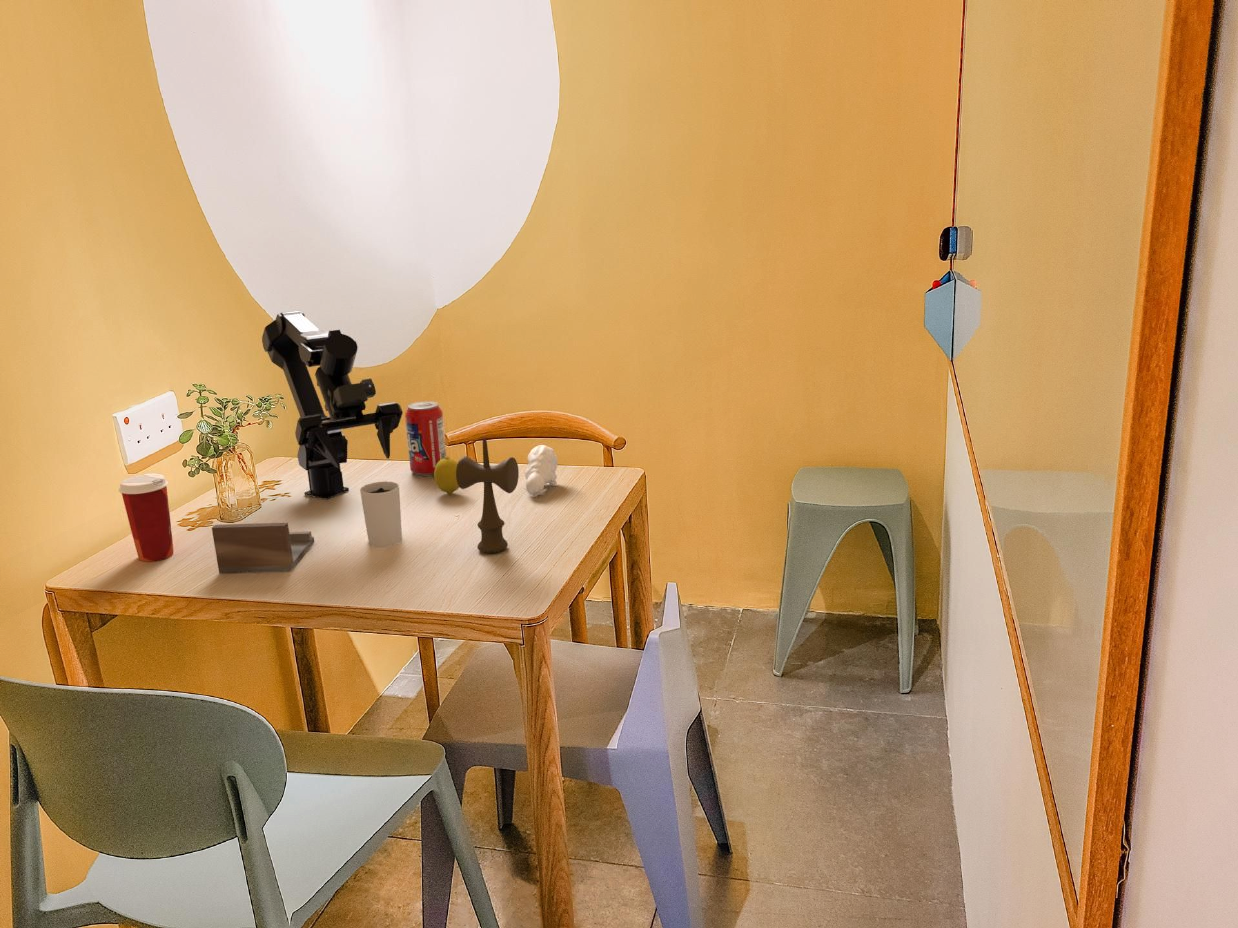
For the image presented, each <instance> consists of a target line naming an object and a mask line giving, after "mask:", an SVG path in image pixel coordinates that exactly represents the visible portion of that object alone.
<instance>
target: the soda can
mask: <svg viewBox="0 0 1238 928" xmlns="http://www.w3.org/2000/svg"><path fill="white" fill-rule="evenodd" d="M404 420H405V428H406V429H405V430H406V431H405V432H406V439H407V449H408V458H409V459H408V461H409V469H410V471H411V473H413V474H415V475H417V476H420V477H431V476H433V477H434V471H435V467H436V465H437V463H438V462H439V461H440V460H441V459H444V458H445V457H446V456H447V448H446V447H447V446H446V437H445V436H446V435H445V426H444V415H443V410H442V408H441V407H440V406H439V402H436V401H417V402H412V403H409V404H408V405H407V409H406V411H405V413H404Z"/></svg>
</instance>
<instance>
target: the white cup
mask: <svg viewBox="0 0 1238 928" xmlns="http://www.w3.org/2000/svg"><path fill="white" fill-rule="evenodd" d="M359 492H360V496H361V497H360V498H361V503H362V512H363V516H364V522H365V527H366V529H365V530H366V534H367V541H368V544H369V546H371V547H375V548H384V547H385V548H386V547H391V546H396V545H397V544H399V543H400V542H402V540H403V535H402V533H403V530H402V515H401V499H400V498H401V497H400V484H399V483H397V482H394V481H376V482H371V483H368V484H367V483H366V484H365V485H363V486H361V487H360V489H359Z"/></svg>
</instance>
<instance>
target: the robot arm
mask: <svg viewBox="0 0 1238 928" xmlns="http://www.w3.org/2000/svg"><path fill="white" fill-rule="evenodd" d="M275 317H276V318H275V319H274V320H273V321H271V322H270V323H269V324H268V325H266V326H265V327H264V330H263V333H262V337H261V342H262V347H263V349H264V352H266V353H267V355H268V357H269V359H270V361H271V363H273V364H274V365H276V366H277V367H278V368H280V369H281V370H282V371H283V373H284V376H285V378H286V382H287V384H288V387H289V389H290V392H291V395H292V397H293V400H294V401H293V402H294V404H295V406H296V409H297V411H298V414H299V418H298V420H297V423H296V428H295V438H296V442H297V444H298V445H299V447H298V450H297V454H296V455H297V460H298V465H299V467H301V468H302V469H303V470H305V471H307V477H308V485H309V490H307V491H305V492H303V494H304V495H305V496H308V497H313V498H319V499H324V500H327V499H330V498H334V497H335V496H338V495H340V494H343V493H346V492H348V491H349V490H350V489H349V487H347V486H344V478H343V471H342V470H341V464H347V463H348V445H349V440H348V439H347V438H346V436H345V434H344V433H342V430H345V429H353V428H358V427H363V426H369V425H374V427H375V429H376V430H377V432H376V435H377V438H378V441H379V444H380V447H381V449H382V452H383V455H384V456H385V459H390V457H391V434H393V432H394V430H396V429H398V428H399V425H400V422H401V418H402V416H403V414H404V413H403V408H402V406H401V405H400V404H399V403H397V401H393V402H387V403H385V402H384V403H380V404H379V403H378V404H377V405H376V408H375V411H374V412H372V413H365V414H364V413H363V411H365V410H366V407H367V405H366V403H365V402H367V401H368V400H369V398H374V396H375V395H376V393H377V392H376V387H375V384H374V382H373V379H372V378H365V379H361V381H360V382H358V383H352V381H351V378H350V376H349V374H350V373H352V371H353V367H354V364H355V360H356V357H357V353H358V348H359V347H358V343H357V341H356V340H354V338H352V337H351V336H349V335H347V334H344V333H342V332H341V330H340V328H337V329H330V330H321V329H319V328H317V327H316V326H315V324H314V323H312V322H311V321H310V320H309V319H308V318H306V315H305V313H304V312H303V311H300V310H292V311H283V312H280V313H277V314H276V316H275ZM318 366H319V367H318ZM312 367H313V368H314V367H317V368H316V371H315V373H314V376H315V379H316V386H317V387H318V388H319V390H320V392H321V393H320V394H321V396H322V398H323V401H324V408H325V411H326V412H327V413H328V414H329V416H328V415H326V414H325V411H324V409H323V405H322V403H321V401H320V398H319V396H318V393H317V390H316V388H315V386H314V383H313V379H312V377H311V374H310V372H309V369H308V368H312Z"/></svg>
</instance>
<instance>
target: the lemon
mask: <svg viewBox="0 0 1238 928" xmlns="http://www.w3.org/2000/svg"><path fill="white" fill-rule="evenodd" d="M458 462H459V461H457V460H456V459H454V458H452V457H449V456H447V455H446V457H445V458H444V459H441V460H440V461H439V462H438V463H437V465H436V467H435V471H434V475H433V477H434V482H435V485H436V486H437V488H438V490H440V491H441V492H444V493H446V494H447V495H449V496H450V495H453V493H454V492H455V491H457V490H458V489H459V486H458V484H457V480H456V468H457V464H458Z"/></svg>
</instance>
